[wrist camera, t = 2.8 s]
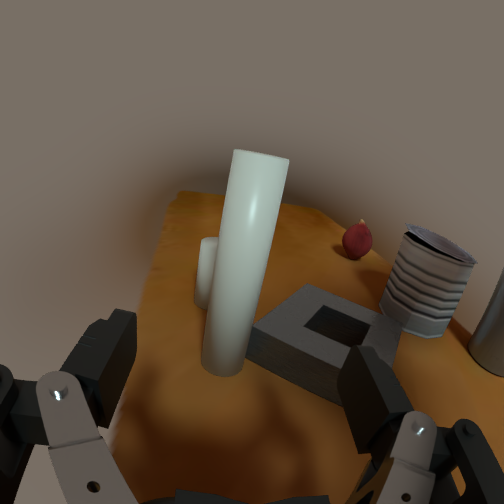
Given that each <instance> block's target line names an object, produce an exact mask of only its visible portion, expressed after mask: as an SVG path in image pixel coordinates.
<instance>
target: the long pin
mask: <svg viewBox="0 0 504 504" xmlns="http://www.w3.org/2000/svg"><path fill="white" fill-rule="evenodd" d="M289 161H290V160H288V159H285V158H281V157H277V156H273V155H268V154H263V153H258V152H253V151H247V150H239V149H234V153H233V159H232V164H231V169H230V176H229V181H228V186H227V192H226V197H225V203H224V209H223V215H222V221H221V227H220V233H219V239H218V245H217V251H216V258H215V264H214V270H213V277H212V284H211V290H210V297H209V304H208V311H207V318H206V325H205V333H204V340H203V348H202V355H201V364H202V366H203V367H204V368H205V370H207V371H208V372H209V373H211V374H213V375H216V376H221V377H229V376H233V375H236V374H238V373H239V372H240V371H241V370H242V367H243V363H244V359H245V355H246V351H247V347H248V342H249V338H250V334H251V330H252V326H253V321H254V317H255V313H256V309H257V304H258V300H259V296H260V291H261V287H262V283H263V278H264V274H265V270H266V265H267V261H268V256H269V252H270V248H271V243H272V239H273V234H274V230H275V225H276V221H277V216H278V212H279V207H280V203H281V198H282V193H283V189H284V184H285V180H286V175H287V170H288V165H289Z"/></svg>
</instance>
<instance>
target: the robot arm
mask: <svg viewBox="0 0 504 504" xmlns="http://www.w3.org/2000/svg"><path fill="white" fill-rule="evenodd" d="M468 349H469V351H470V353H471V355H472V356H473V358H474V359H475V360H476V361H477V362H478V363H479V364H480V365H481V366H483V367H484V368H485V369H487V370H488V371H490V372H492V373H494V374H496V375H499V376H503V377H504V268H503V271H502V273H501V276H500V278H499V281H498V283H497V285H496V288H495V290H494V292H493V295H492V297H491V299H490V301H489V304H488V306H487V308H486V310H485V312H484V314H483V316H482V318H481V320H480V322H479V324H478V326H477V328H476V330H475V332H474V333H473V335H472V337H471V339H470V341H469V343H468ZM136 352H137V316H136V313H134V312H130V311H125V310H120V309H115V310H114V311H113V313H112V314H111V316H110V317H109V319H108V320H103V319H99V320H97V321H96V322H94V323H92V324H91V325H89V327H88V328H87V330H86V331H85V333H84V334H83V336H82V337H81V338H80V340H79V341H78V344H76V346H75V347H74V349H73V350H72V352H71V353H70V355H69V356H68V358H67V359H66V361H65V362H64V364H63V365H62V367H61V369H60V370H59V371H53V372H50V373H47V374H45V375H43V376H42V377H41V378H40V379H39V381H25V380H17V379H14V378H13V375H12V373H11V371H10V370H9V369H8V368H7V367H6V366H4V365H1V364H0V504H13V503H14V500H15V497H16V494H17V491H18V488H19V485H20V482H21V479H22V477H23V474H24V471H25V468H26V466H27V463H28V461H29V458H30V455H31V453H32V450H33V447H34V445H35V444H39V445H48V446H50V447H48V451H49V454H50V458H51V461H52V464H53V467H54V470H55V473H56V475H57V478H58V481H59V484H60V486H61V489H62V491H63V494H64V496H65V499H66V501H67V503H68V504H138V502H137V500H136V499H135V497H134V495H133V494H132V492H131V490H130V489H129V487H128V485H127V483H126V482H125V480H124V478H123V476H122V474H121V472H120V471H119V469H118V467H117V465H116V463H115V461H114V459H113V457H112V455H111V453H110V451H109V449H108V447H107V445H106V443H105V441H104V439H103V437H102V436H100V434H99V431H98V429H97V428H98V426H100V427H104V428H107V429H108V428H109V425H110V422H111V420H112V417H113V414H114V412H115V409H116V406H117V404H118V401H119V399H120V396H121V394H122V391H123V388H124V386H125V383H126V381H127V378H128V376H129V374H130V371H131V369H132V366H133V364H134V361H135V357H136ZM337 390H338V393H339V396H340V399H341V402H342V405H343V408H344V411H345V414H346V417H347V420H348V423H349V426H350V429H351V432H352V435H353V438H354V442H355V445H356V448H357V451H358V454H365V453H371V456H372V457H371V458H370V460H369V461H368V462H367V464H366V466H365V469H364V471H363V473H362V475H361V476H360V478H359V480H358V482H357V484H356V486H355V488H354V490H353V492H352V493H351V495H350V497H349V498H348V500H347V501H346V502H345V503H344V504H504V473H503V471H502V469H501V467H500V465H499V463H498V461H497V459H496V457H495V455H494V453H493V452H492V450H491V448H490V446H489V444H488V442H487V440H486V439H485V437H484V435H483V433H482V431H481V430H480V428H479V427H478V426H477V425H476V424H475V423H474V422H472V421H471V420H468V419H460V420H458V421H457V422H456V423H455V424H454V425H453V427H452V428H445V427H437V426H436V424H435V422H434V421H433V419H432V418H431V417H429V416H428V415H427V414H425V413H422V412H419V411H415V410H414V409H413V407H412V405H411V403H410V401H409V399H408V397H407V396H406V394H405V392H404V390H403V388H402V386H400V383H399V381H398V379H396V376H395V374H394V372H393V370H392V369H391V367H390V366H389V365H388V364H387V363H386V362H385V361H383V360H382V359H380V358H379V356H378V355H377V353H376V351H375V349H374V348H373V347H372V346H361V345H353V346H352V347H351V349H350V351H349V353H348V355H347V357H346V359H345V362H344V364H343V366H342V368H341V370H340V372H339V374H338V377H337ZM457 466H458V467H459V469H460V472H461V474H462V476H463V479H464V481H465V484H466V489H465V492H464V494H463V495H462V496H461V497H460V495H459V492H458V490H457V487H456V485H455V482H454V480H453V477H452V475H451V472H452V471H453V470H454V469H455V468H456V467H457ZM141 504H248V503H244V502H240V501H236V500H233V499H229V498H226V497H222V496H219V495H216V494H208V493H200V492H193V491H186V490H180V489H176V493H175V497H166V498H159V499H154V500H150V501H147V502H144V503H141ZM266 504H330V502H329V497H328V495H323V496H308V497H292V498H288V499H284V500H280V501H275V502H271V503H266Z"/></svg>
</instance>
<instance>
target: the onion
mask: <svg viewBox="0 0 504 504" xmlns="http://www.w3.org/2000/svg"><path fill="white" fill-rule="evenodd" d="M342 244H343V247H344V249H345V251H346V253H347V254H348V257H349V258H350V259H352V260H354V259H357V258H360V257H362V256H364V255H366V254H367V253H368V252H369V251H370V249H371V246H372V236H371V233H370V231H369V229H368V228H367V226H366V224H365V223H364V221H363V220H362V219H361V220H359V223H358V224H355V225H353V226H351V227H350V228H349V229H348V230H347V231H346V232H345V233H344V235H343V239H342Z"/></svg>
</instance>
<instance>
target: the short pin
mask: <svg viewBox="0 0 504 504" xmlns="http://www.w3.org/2000/svg"><path fill="white" fill-rule="evenodd" d="M218 239H219V238H218V237H207V238H204V239H202V241H201V248H200V255H199V263H198V271H197V278H196V287H195V295H194V303H195V304H196V305H197V306H198V307H200V308H202V309H204V310H208V304H209V297H210V290H211V284H212V277H213V270H214V264H215V258H216V251H217V245H218Z"/></svg>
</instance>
